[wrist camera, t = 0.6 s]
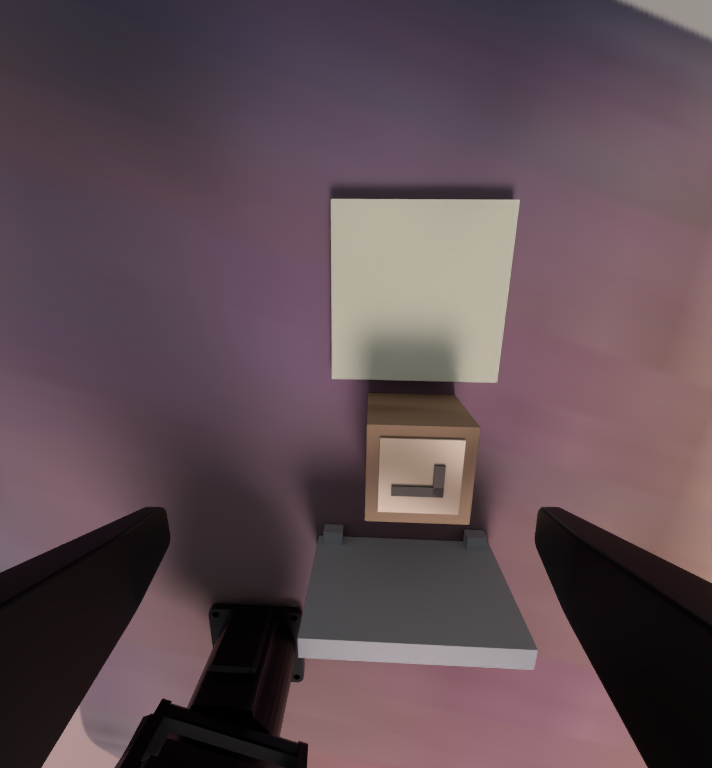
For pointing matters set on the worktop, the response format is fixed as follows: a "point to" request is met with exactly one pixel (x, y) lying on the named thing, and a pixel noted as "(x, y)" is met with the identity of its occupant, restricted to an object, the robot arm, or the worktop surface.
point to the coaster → (420, 287)
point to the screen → (412, 603)
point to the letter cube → (419, 459)
